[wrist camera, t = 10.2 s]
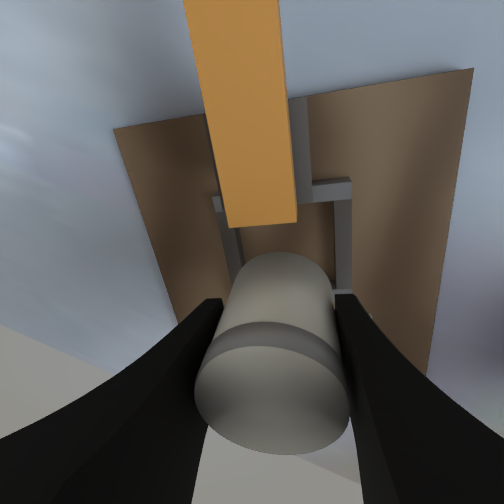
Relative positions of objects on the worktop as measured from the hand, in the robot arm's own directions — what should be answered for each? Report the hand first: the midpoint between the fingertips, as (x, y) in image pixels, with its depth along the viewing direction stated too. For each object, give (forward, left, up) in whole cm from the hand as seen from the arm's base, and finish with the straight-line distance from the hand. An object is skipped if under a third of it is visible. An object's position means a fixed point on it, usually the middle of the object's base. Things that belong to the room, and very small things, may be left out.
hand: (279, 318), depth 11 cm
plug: (0, 0, -1) cm, 1 cm away
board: (0, +2, -7) cm, 8 cm away
